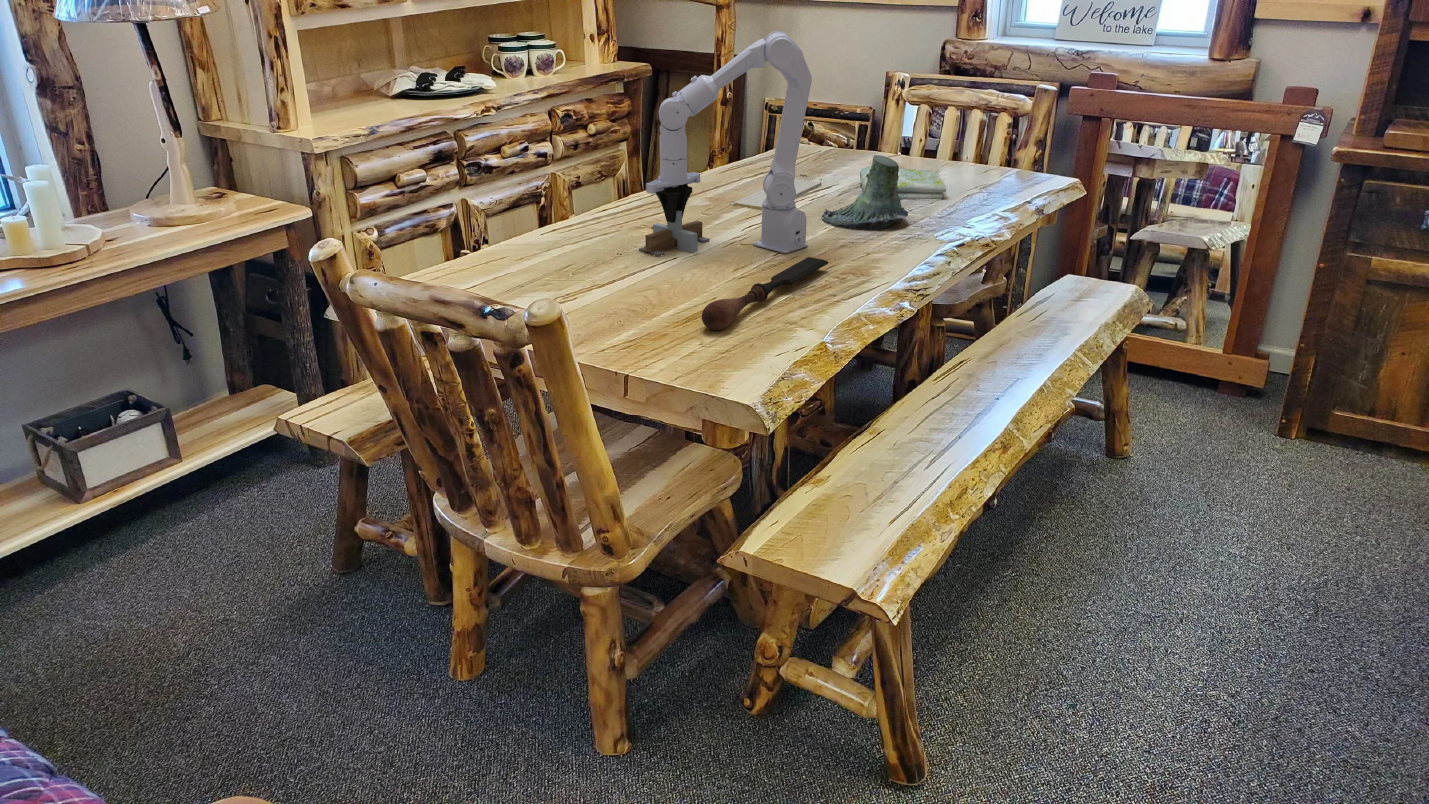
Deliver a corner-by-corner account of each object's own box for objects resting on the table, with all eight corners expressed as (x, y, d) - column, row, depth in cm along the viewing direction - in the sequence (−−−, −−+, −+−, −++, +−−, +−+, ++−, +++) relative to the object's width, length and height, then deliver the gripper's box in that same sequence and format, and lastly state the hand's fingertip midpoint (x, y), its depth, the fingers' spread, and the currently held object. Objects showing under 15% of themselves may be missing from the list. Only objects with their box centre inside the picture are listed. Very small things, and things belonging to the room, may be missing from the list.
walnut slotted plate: (709, 241, 227) (709, 223, 225) (658, 257, 216) (657, 238, 215) (690, 236, 231) (690, 218, 229) (638, 251, 220) (638, 233, 218)
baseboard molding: (724, 206, 257) (766, 213, 251) (724, 195, 255) (767, 202, 250) (782, 181, 281) (821, 187, 275) (782, 171, 279) (822, 177, 274)
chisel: (695, 331, 178) (695, 304, 176) (807, 267, 211) (808, 244, 209) (719, 337, 176) (720, 310, 173) (829, 271, 208) (830, 247, 206)
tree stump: (840, 208, 256) (862, 138, 247) (911, 238, 249) (936, 168, 240) (807, 220, 241) (829, 147, 232) (881, 254, 234) (907, 180, 225)
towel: (947, 202, 261) (949, 182, 259) (863, 200, 262) (865, 180, 260) (936, 185, 277) (938, 166, 275) (858, 184, 278) (859, 165, 276)
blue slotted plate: (697, 251, 220) (697, 214, 217) (692, 252, 219) (691, 216, 216) (658, 240, 228) (657, 205, 224) (653, 241, 227) (652, 206, 223)
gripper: (683, 149, 223) (684, 210, 228) (635, 160, 213) (637, 223, 219) (707, 154, 218) (707, 216, 224) (659, 165, 209) (660, 230, 214)
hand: (674, 220), depth 221 cm, fingers closed on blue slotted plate, 2 cm apart
